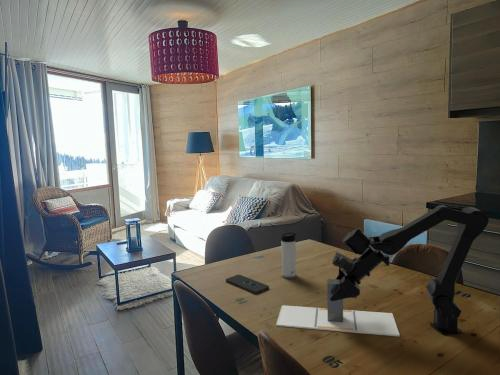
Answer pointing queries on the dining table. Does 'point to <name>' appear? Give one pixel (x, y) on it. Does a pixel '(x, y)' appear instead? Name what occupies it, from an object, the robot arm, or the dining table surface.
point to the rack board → (351, 322)
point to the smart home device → (247, 284)
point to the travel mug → (288, 255)
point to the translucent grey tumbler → (334, 302)
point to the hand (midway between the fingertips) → (330, 294)
